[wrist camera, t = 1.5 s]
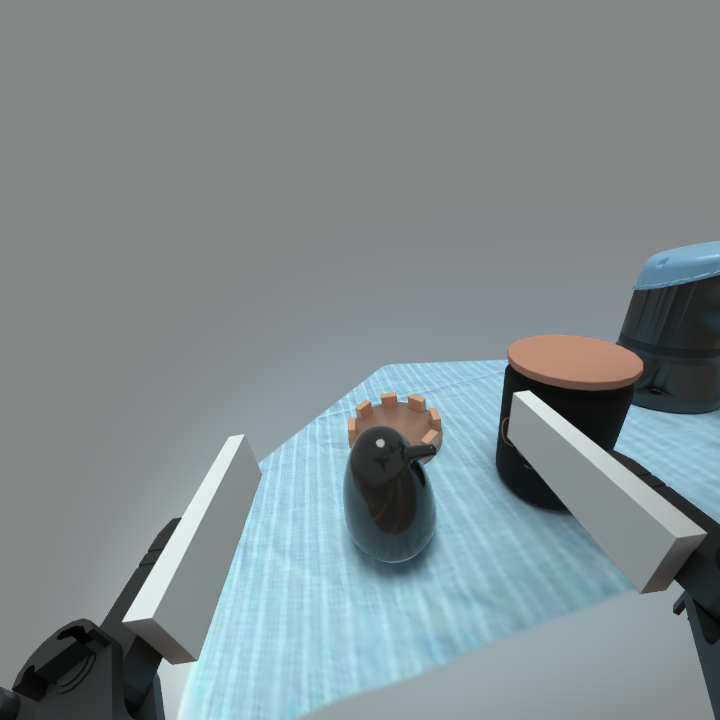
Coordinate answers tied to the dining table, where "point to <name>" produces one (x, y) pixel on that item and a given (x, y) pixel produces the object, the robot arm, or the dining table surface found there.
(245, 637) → the dining table surface
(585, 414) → the coffee jar
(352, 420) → the castellated collar
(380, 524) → the pump dispenser
